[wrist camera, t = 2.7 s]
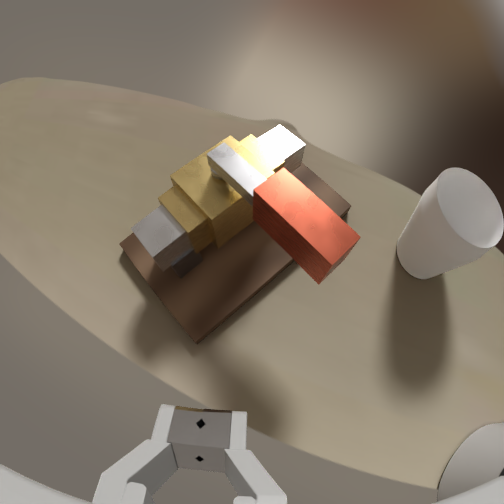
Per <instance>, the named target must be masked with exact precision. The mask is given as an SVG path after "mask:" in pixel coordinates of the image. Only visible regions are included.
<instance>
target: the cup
mask: <svg viewBox="0 0 504 504" xmlns="http://www.w3.org/2000/svg"><path fill="white" fill-rule="evenodd" d="M503 228H504V222H503V215H502V211H501V208H500V205H499V203H498V201H497V199H496V197H495V195H494V194H493V192H492V191H491V189H490V188H489V187H488V186H487V185H486V184H485V183H484V182H483V181H482V180H481V179H480V178H479V177H478V176H476V175H475V174H473V173H472V172H470V171H467V170H465V169H461V168H449V169H446V170H445V171H443V172H442V173H441V174H440V175H439V176H438V178H437V179H436V180H435V181H434V182H433V183H432V184H431V185H430V186H429V187H428V188H427V189H426V191H425V192H424V194H423V195H422V197H421V199H420V201H419V203H418V205H417V207H416V208H415V210H414V212H413V214H412V216H411V218H410V219H409V221H408V223H407V225H406V227H405V228H404V230H403V232H402V234H401V235H400V237H399V239H398V242H397V255H398V259H399V261H400V263H401V265H402V266H403V268H404V269H405V270H406V271H407V272H408V273H409V274H410V275H412V276H414V277H416V278H419V279H428V278H431V277H434V276H437V275H439V274H442V273H445V272H448V271H450V270H453V269H455V268H458V267H461V266H463V265H466V264H468V263H471V262H473V261H475V260H477V259H479V258H480V257H482V256H483V255H484V254H485V253H486V252H487V251H489V250H490V249H491V248H492V247H493V246H495V245H496V244H497V243H498V242H499V240H500V239H501V237H502V233H503Z"/></svg>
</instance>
